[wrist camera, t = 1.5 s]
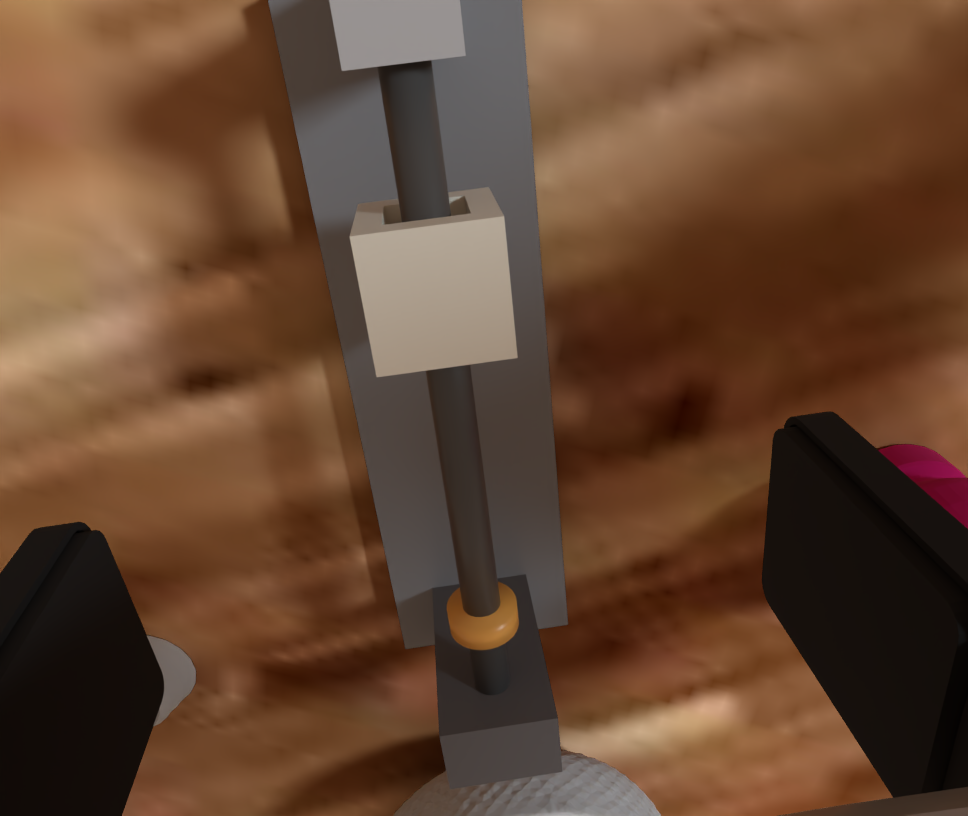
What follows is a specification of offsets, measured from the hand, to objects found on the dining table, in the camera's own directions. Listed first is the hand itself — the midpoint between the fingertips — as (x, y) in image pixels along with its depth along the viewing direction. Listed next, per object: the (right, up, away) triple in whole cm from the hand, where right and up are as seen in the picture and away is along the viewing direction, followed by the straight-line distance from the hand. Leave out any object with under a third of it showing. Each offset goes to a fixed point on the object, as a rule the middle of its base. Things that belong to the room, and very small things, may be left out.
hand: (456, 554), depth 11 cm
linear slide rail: (-1, +4, +20) cm, 21 cm away
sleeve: (-1, +7, +13) cm, 15 cm away
